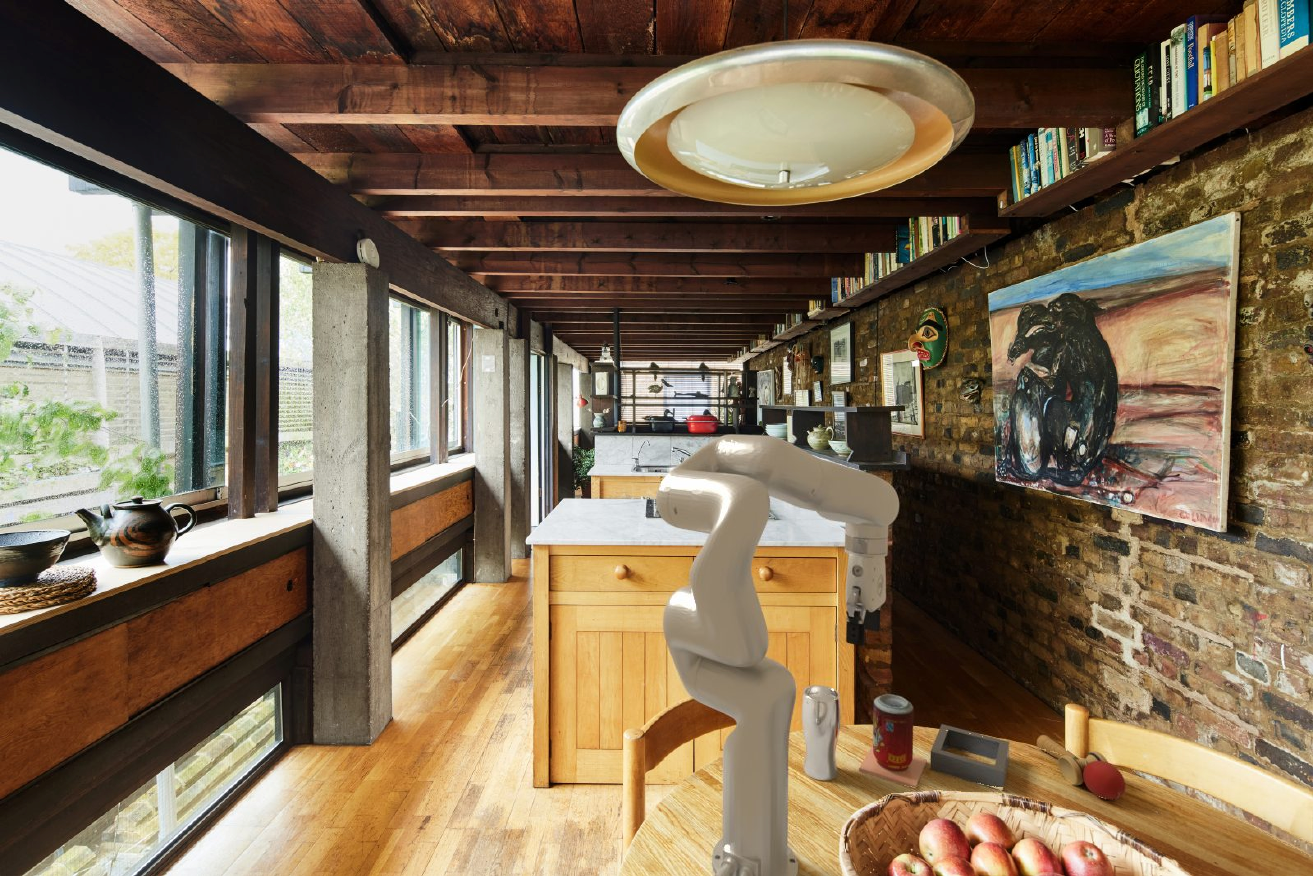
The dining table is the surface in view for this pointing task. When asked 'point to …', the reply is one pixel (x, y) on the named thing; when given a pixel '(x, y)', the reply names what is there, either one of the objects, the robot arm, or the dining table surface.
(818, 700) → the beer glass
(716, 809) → the dining table surface
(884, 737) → the soda can
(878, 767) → the tile
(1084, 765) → the kendama
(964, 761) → the collar
